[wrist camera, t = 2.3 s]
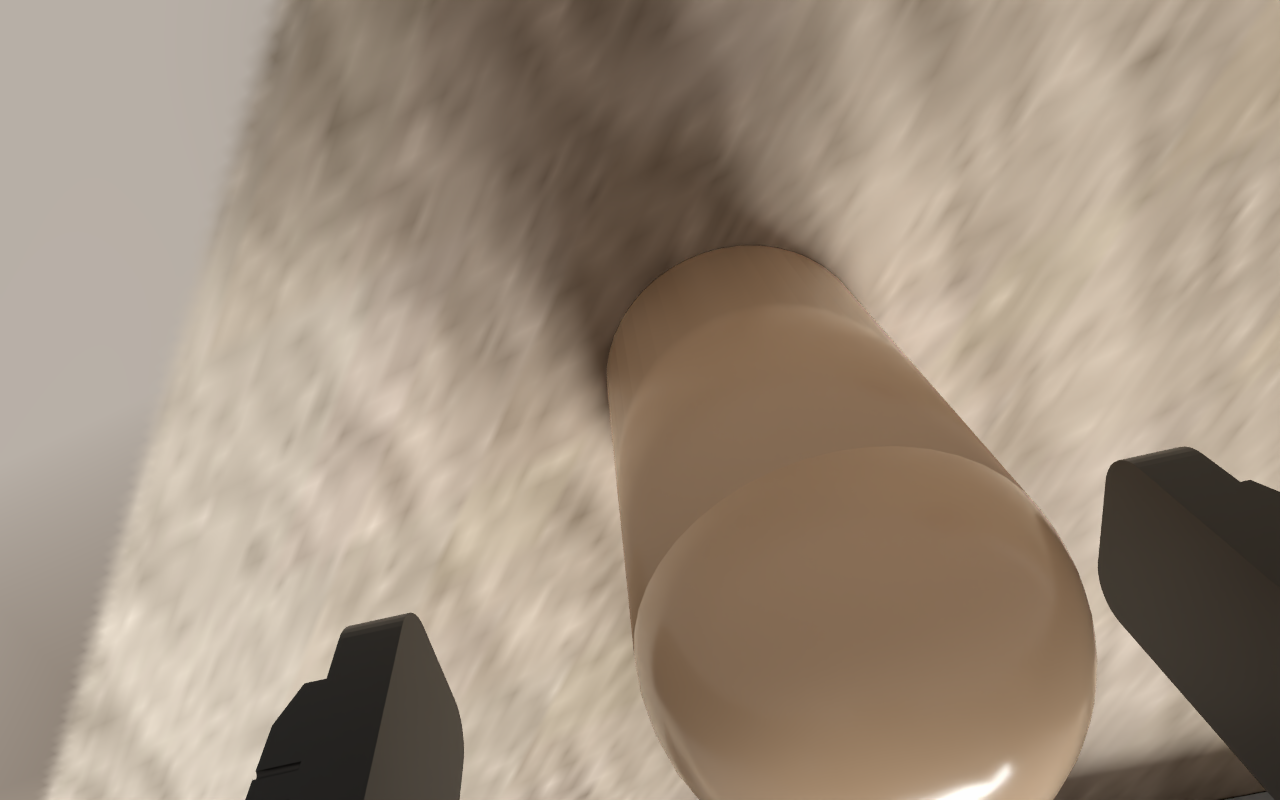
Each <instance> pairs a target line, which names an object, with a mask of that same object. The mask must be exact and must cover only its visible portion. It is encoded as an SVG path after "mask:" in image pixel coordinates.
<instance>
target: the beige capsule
mask: <svg viewBox="0 0 1280 800" xmlns="http://www.w3.org/2000/svg"><path fill="white" fill-rule="evenodd" d="M607 393H608V402H609V412H610V422H611V432H612V442H613V451H614V461H615V471H616V481H617V491H618V501H619V510H620V520H621V530H622V540H623V550H624V560H625V569H626V579H627V589H628V599H629V609H630V619H631V628H632V638H633V648H634V656H635V663H636V669H637V675H638V680H639V686H640V691H641V695H642V698H643V701H644V704H645V707H646V710H647V713H648V716H649V718H650V721H651V724H652V726H653V729H654V732H655V734H656V737H657V738H658V740H659V742H660V744H661V745H662V747H663V749H664V751H665V752H666V754H667V756H668V758H669V759H670V761H671V763H672V765H673V766H674V768H675V770H676V772H677V773H678V775H679V776H680V777H681V778H682V779H683V781H684V782H685V783H686V784H687V786H688V787H689V788H690V789H691V790H692V792H693V793H694V794H695V795H696V796H697V798H698V799H699V800H1053V799H1054V798H1055V796H1056V795H1057V794H1058V792H1059V790H1060V789H1061V787H1062V785H1063V784H1064V782H1065V781H1066V779H1067V777H1068V776H1069V774H1070V772H1071V770H1072V768H1073V767H1074V765H1075V763H1076V761H1077V759H1078V756H1079V754H1080V751H1081V749H1082V746H1083V743H1084V740H1085V737H1086V734H1087V731H1088V728H1089V725H1090V721H1091V717H1092V712H1093V707H1094V701H1095V691H1096V681H1097V652H1096V641H1095V632H1094V626H1093V620H1092V614H1091V611H1090V607H1089V604H1088V600H1087V596H1086V593H1085V590H1084V587H1083V584H1082V582H1081V579H1080V576H1079V573H1078V571H1077V569H1076V567H1075V565H1074V562H1073V560H1072V558H1071V556H1070V554H1069V552H1068V550H1067V548H1066V547H1065V545H1064V543H1063V542H1062V540H1061V538H1060V537H1059V535H1058V533H1057V532H1056V530H1055V529H1054V527H1053V526H1052V524H1051V523H1050V522H1049V520H1048V519H1047V518H1046V516H1045V515H1044V513H1043V512H1042V511H1041V509H1040V508H1039V507H1038V506H1037V505H1036V504H1035V503H1034V501H1033V500H1032V499H1031V498H1030V497H1029V496H1028V495H1027V493H1026V492H1025V491H1024V490H1023V489H1022V488H1021V487H1020V485H1019V484H1018V483H1017V482H1016V481H1015V480H1014V479H1013V477H1012V476H1011V475H1010V474H1009V473H1008V472H1007V471H1006V469H1005V468H1004V467H1003V466H1002V465H1001V464H1000V463H999V461H998V460H997V459H996V458H995V457H994V456H993V455H992V453H991V452H990V451H989V450H988V449H987V448H986V447H985V445H984V444H983V443H982V442H981V441H980V440H979V439H978V437H977V436H976V435H975V434H974V433H973V432H972V431H971V429H970V428H969V427H968V426H967V425H966V424H965V423H964V421H963V420H962V419H961V418H960V417H959V416H958V415H957V413H956V412H955V411H954V410H953V409H952V408H951V407H950V405H949V404H948V403H947V402H946V401H945V400H944V399H943V397H942V396H941V395H940V394H939V393H938V392H937V391H936V389H935V388H934V387H933V386H932V385H931V384H930V383H929V381H928V380H927V379H926V378H925V377H924V376H923V375H922V373H921V372H920V371H919V370H918V369H917V368H916V367H915V365H914V364H913V363H912V362H911V361H910V360H909V359H908V357H907V356H906V355H905V354H904V353H903V352H902V351H901V349H900V348H899V347H898V346H897V345H896V344H895V343H894V341H893V340H892V339H891V338H890V337H889V336H888V335H887V333H886V332H885V331H884V330H883V329H882V328H881V327H880V325H879V324H878V323H877V322H876V321H875V320H874V319H873V317H872V316H871V315H870V314H869V313H868V312H867V311H866V309H865V308H864V307H863V306H862V305H861V304H860V303H859V301H858V300H857V299H856V298H855V297H854V296H853V295H852V293H851V292H850V291H849V290H848V289H847V288H846V287H845V286H844V284H843V283H842V282H841V281H840V280H839V279H838V278H837V277H836V276H835V275H833V274H832V273H831V272H830V271H829V270H827V269H826V268H825V267H823V266H821V265H820V264H818V263H816V262H815V261H813V260H811V259H809V258H807V257H805V256H802V255H800V254H798V253H795V252H792V251H788V250H784V249H780V248H776V247H768V246H760V245H743V246H734V247H726V248H720V249H717V250H713V251H709V252H705V253H702V254H700V255H697V256H695V257H692V258H690V259H687V260H685V261H684V262H682V263H680V264H678V265H676V266H674V267H673V268H671V269H669V270H668V271H667V272H665V273H664V274H662V275H661V276H660V277H658V278H657V279H656V280H654V281H653V282H652V283H651V284H650V285H649V286H648V287H647V288H646V289H645V290H644V291H643V292H642V293H641V294H640V295H639V296H638V297H637V299H636V300H635V301H634V302H633V303H632V305H631V306H630V307H629V309H628V311H627V312H626V314H625V315H624V317H623V319H622V320H621V322H620V324H619V326H618V329H617V331H616V333H615V335H614V338H613V341H612V345H611V348H610V351H609V357H608V364H607Z"/></svg>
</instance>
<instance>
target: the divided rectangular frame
mask: <svg viewBox="0 0 1280 800" xmlns="http://www.w3.org/2000/svg"><path fill="white" fill-rule="evenodd" d="M1226 800H1274V799H1273V797H1272V796H1271V795H1270V794H1269V793H1268V792H1263V793H1258V794H1253V795H1247V796H1242V797H1237V798H1231V799H1226Z"/></svg>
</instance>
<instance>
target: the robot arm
mask: <svg viewBox="0 0 1280 800" xmlns="http://www.w3.org/2000/svg"><path fill="white" fill-rule="evenodd" d="M1098 575H1099V580H1100V584H1101V588H1102V591H1103V594H1104V597H1105V599H1106V601H1107V603H1108V605H1109V607H1110V609H1111V611H1112V612H1113V614H1114V615H1115V617H1116V618H1117V619H1118V621H1119V622H1120V623H1121V624H1122V625H1123V626H1124V628H1125V629H1126V630H1127V631H1128V632H1129V633H1130V634H1131V636H1132V637H1133V638H1134V639H1135V640H1136V641H1137V643H1138V644H1139V645H1140V646H1141V647H1142V648H1143V649H1144V651H1145V652H1146V653H1147V654H1148V655H1149V656H1150V657H1151V659H1152V660H1153V661H1154V662H1155V663H1156V664H1157V665H1158V667H1159V668H1160V669H1161V670H1162V671H1163V672H1164V674H1165V675H1166V676H1167V677H1168V678H1169V679H1170V680H1171V682H1172V683H1173V684H1174V685H1175V686H1176V687H1177V688H1178V690H1179V691H1180V692H1181V693H1182V694H1183V695H1184V696H1185V698H1186V699H1187V700H1188V701H1189V702H1190V703H1191V704H1192V706H1193V707H1194V708H1195V709H1196V710H1197V711H1198V713H1199V714H1200V715H1201V716H1202V717H1203V718H1204V719H1205V721H1206V722H1207V723H1208V724H1209V725H1210V726H1211V727H1212V729H1213V730H1214V731H1215V732H1216V733H1217V734H1218V735H1219V737H1220V738H1221V739H1222V740H1223V741H1224V742H1225V743H1226V745H1227V746H1228V747H1229V748H1230V749H1231V750H1232V752H1233V753H1234V754H1235V755H1236V756H1237V757H1238V758H1239V760H1240V761H1241V762H1242V763H1243V764H1244V765H1245V766H1246V768H1247V769H1248V770H1249V771H1250V772H1251V773H1252V774H1253V776H1254V777H1255V778H1256V779H1257V780H1258V781H1259V782H1260V784H1261V785H1262V786H1263V787H1264V788H1265V789H1266V791H1267V792H1268V793H1269V794H1270V795H1271V796H1272V797H1273V799H1274V800H1280V492H1279V491H1276V490H1274V489H1271V488H1269V487H1266V486H1264V485H1261V484H1259V483H1257V482H1254V481H1252V480H1247V481H1243V482H1239V481H1238V480H1237V479H1235V478H1234V477H1233V476H1231V475H1230V474H1229V473H1227V472H1226V471H1225V470H1223V469H1222V468H1221V467H1219V466H1218V465H1217V464H1215V463H1214V462H1213V461H1211V460H1210V459H1209V458H1207V457H1206V456H1205V455H1203V454H1202V453H1200V452H1199V451H1197V450H1195V449H1193V448H1190V447H1178V448H1173V449H1169V450H1164V451H1160V452H1155V453H1151V454H1146V455H1141V456H1137V457H1132V458H1128V459H1123V460H1118V461H1116V462H1114V463H1113V464H1112V465H1111V466H1110V468H1109V470H1108V472H1107V476H1106V483H1105V494H1104V505H1103V515H1102V526H1101V536H1100V547H1099V558H1098ZM463 760H464V741H463V731H462V724H461V719H460V715H459V711H458V707H457V704H456V702H455V699H454V697H453V695H452V692H451V690H450V688H449V685H448V683H447V681H446V678H445V676H444V674H443V671H442V669H441V667H440V664H439V662H438V660H437V657H436V655H435V653H434V650H433V648H432V646H431V643H430V641H429V639H428V636H427V634H426V632H425V629H424V627H423V625H422V623H421V621H420V619H419V618H418V617H417V616H416V615H415V614H414V613H407V614H402V615H398V616H393V617H389V618H384V619H379V620H375V621H370V622H366V623H361V624H356V625H352V626H348V627H346V628H345V629H344V630H343V632H342V633H341V635H340V638H339V641H338V644H337V647H336V650H335V654H334V657H333V660H332V663H331V667H330V670H329V673H328V676H327V679H323V680H319V681H314V682H309V683H305V684H304V685H303V686H302V687H301V689H300V690H299V691H298V693H297V694H296V695H295V697H294V698H293V699H292V700H291V702H290V703H289V704H288V706H287V707H286V708H285V710H284V711H283V712H282V714H281V715H280V716H279V717H278V719H277V720H276V721H275V723H274V724H273V725H272V728H271V730H270V733H269V736H268V739H267V741H266V744H265V747H264V750H263V752H262V755H261V758H260V761H259V764H258V766H257V769H256V773H257V778H256V780H252V783H251V786H250V788H249V791H248V794H247V797H246V799H245V800H459V799H460V790H461V780H462V771H463Z"/></svg>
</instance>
